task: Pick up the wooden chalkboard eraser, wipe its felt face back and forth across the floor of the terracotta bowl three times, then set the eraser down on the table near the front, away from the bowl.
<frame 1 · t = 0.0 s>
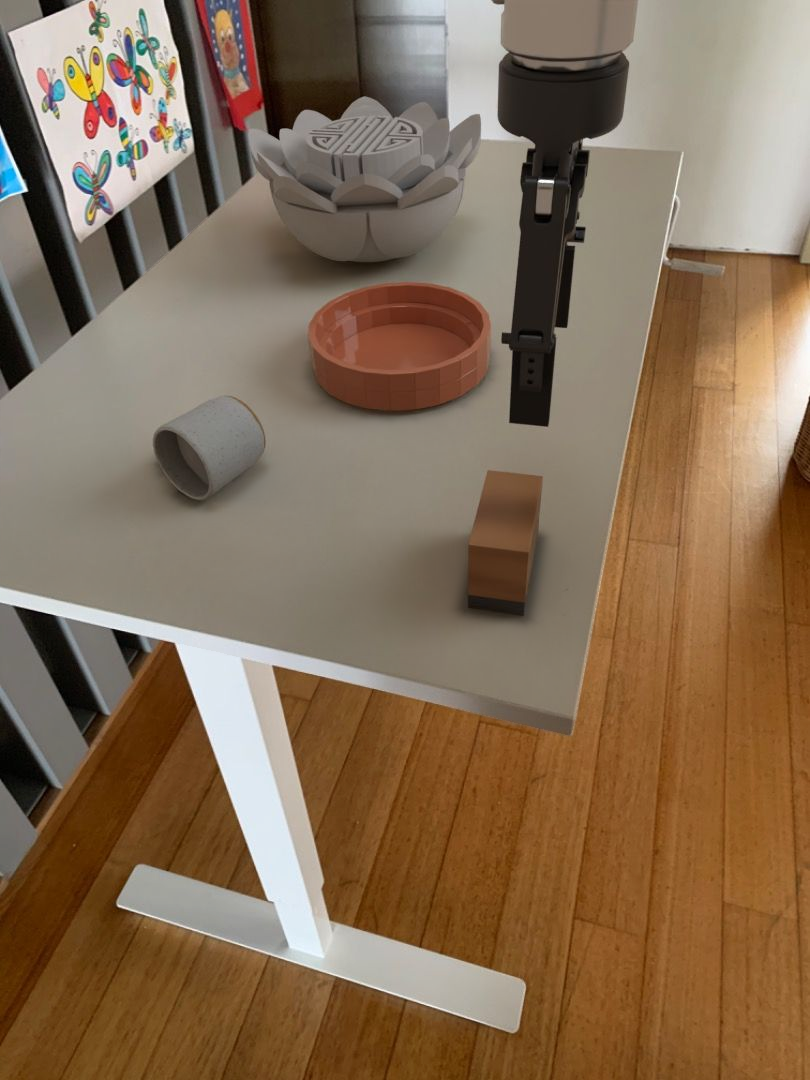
hand: (540, 370, 63), 16 cm above the table, tool pointing down, fingers open, 13 cm apart
ceramic mug: (208, 474, 82), on the table
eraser: (504, 571, 70), on the table
decorative bowl: (366, 248, 117), on the table
terracotta bowl: (401, 364, 94), on the table
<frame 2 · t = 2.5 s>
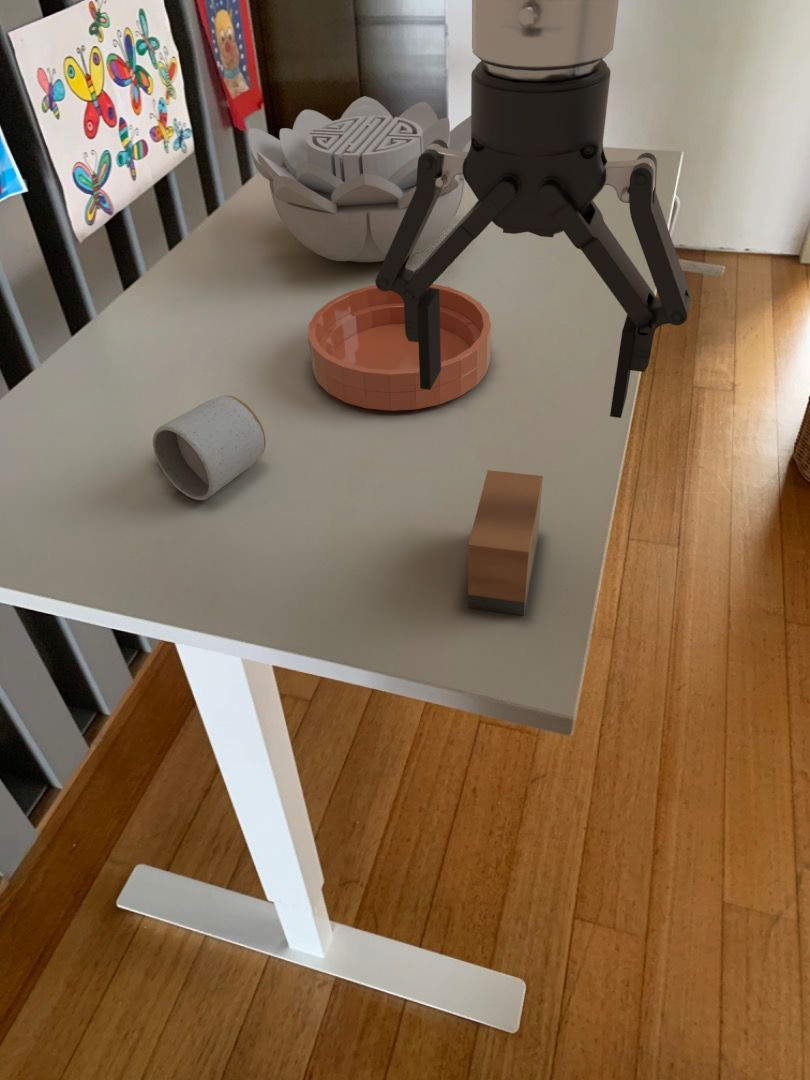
hand: (521, 393, 60), 16 cm above the table, tool pointing down, fingers open, 13 cm apart
nothing on the table moved.
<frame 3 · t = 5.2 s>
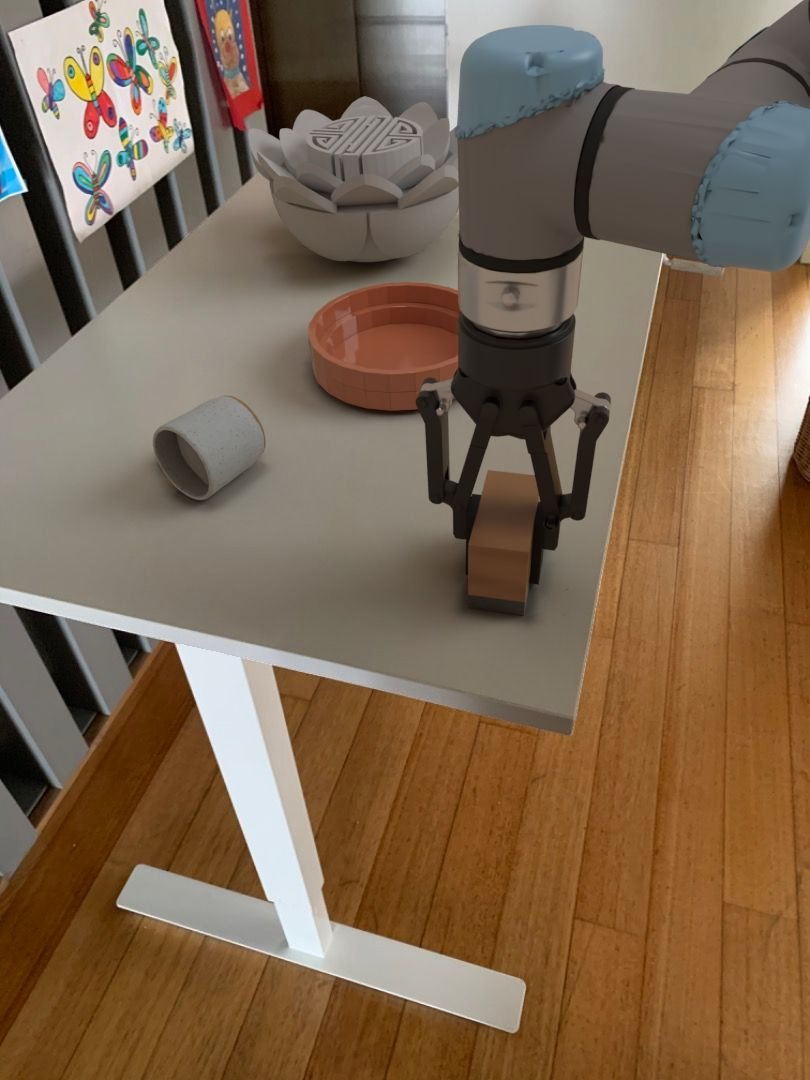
hand: (504, 567, 70), 0 cm above the table, tool pointing down, fingers closed on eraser, 4 cm apart
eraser: (504, 571, 70), on the table, touching gripper
everything else where it was.
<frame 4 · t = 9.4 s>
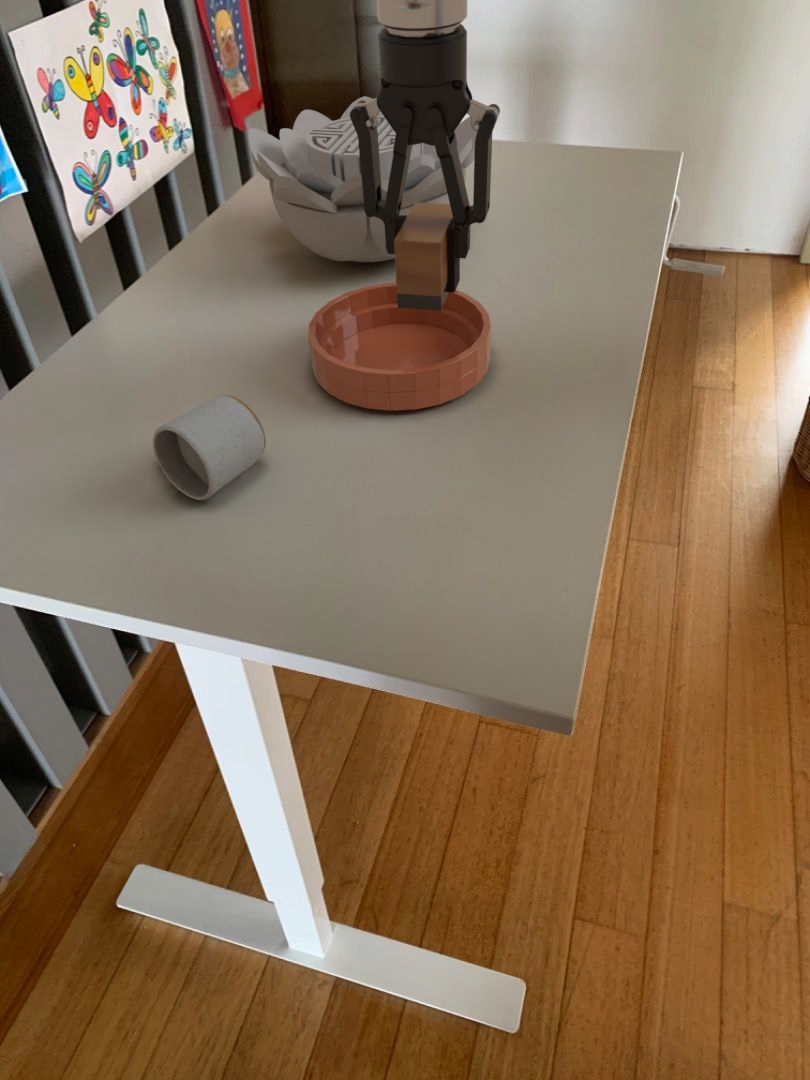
hand: (428, 283, 87), 10 cm above the table, tool pointing down, fingers closed on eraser, 4 cm apart
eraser: (428, 288, 87), point 9 cm above the table, touching gripper
everything else where it was.
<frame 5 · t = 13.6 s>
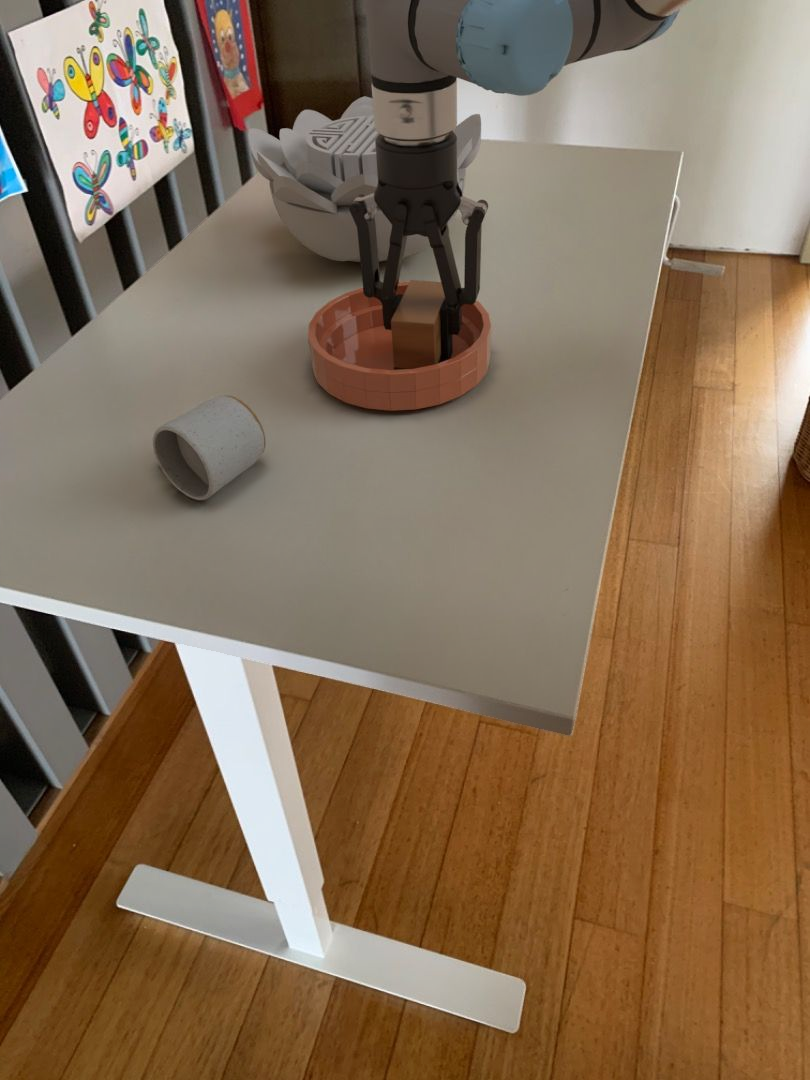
hand: (423, 356, 93), 1 cm above the table, tool pointing down, fingers closed on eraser, 4 cm apart
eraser: (423, 359, 93), point 1 cm above the table, touching gripper
everything else where it was.
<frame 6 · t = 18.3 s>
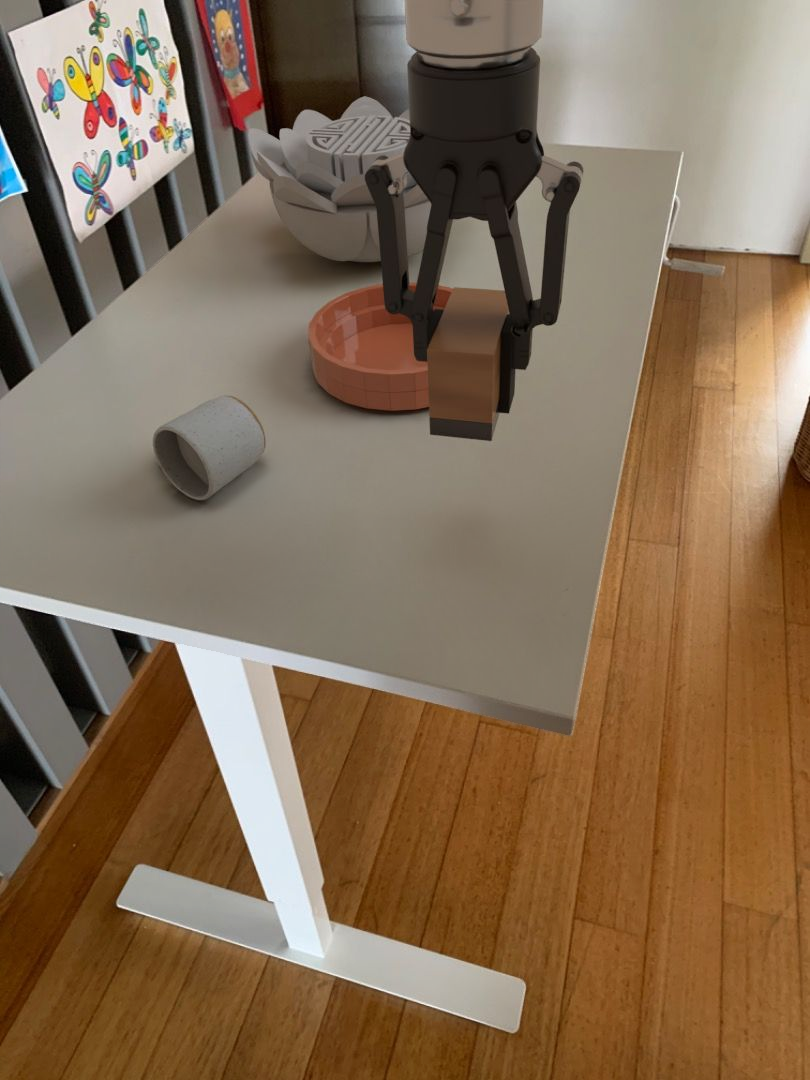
hand: (472, 399, 63), 14 cm above the table, tool pointing down, fingers closed on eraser, 4 cm apart
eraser: (472, 403, 63), point 14 cm above the table, touching gripper
everything else where it was.
when the fingers open (0 cm above the table, at t = 22.2 s): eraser stays where it is, on the table.
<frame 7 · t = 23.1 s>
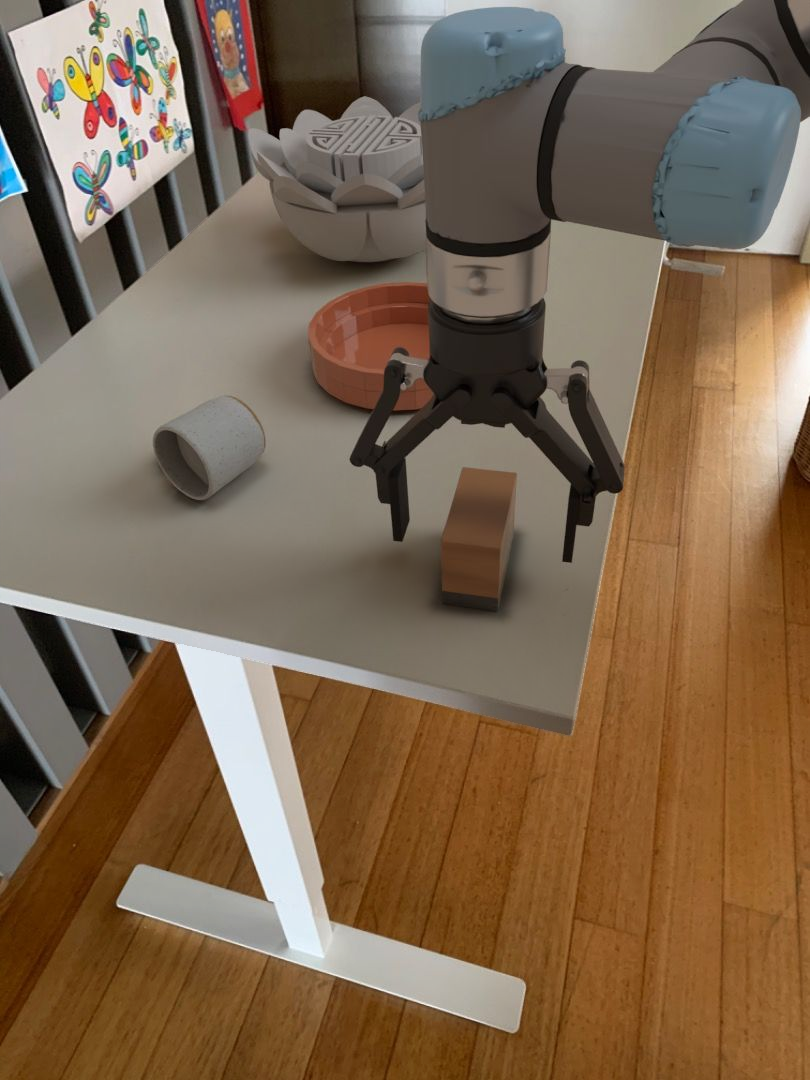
hand: (483, 540, 68), 3 cm above the table, tool pointing down, fingers open, 13 cm apart
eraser: (479, 568, 70), on the table
everything else where it was.
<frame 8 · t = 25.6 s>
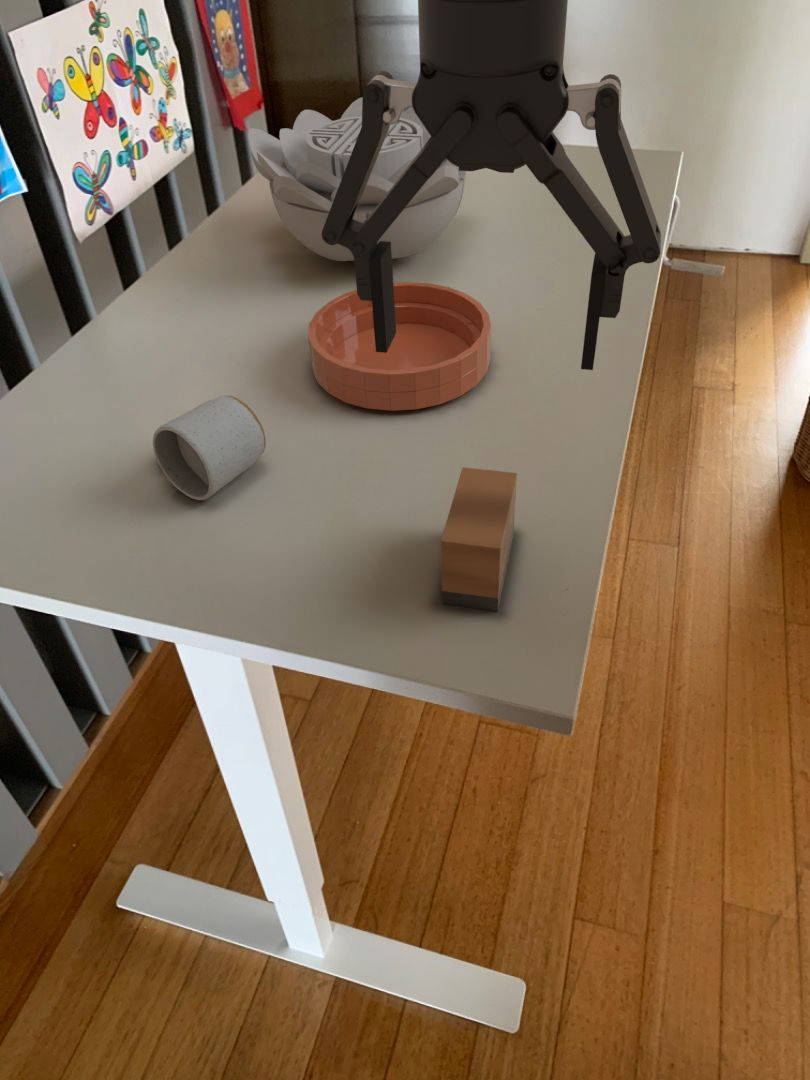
hand: (484, 350, 56), 21 cm above the table, tool pointing down, fingers open, 13 cm apart
nothing on the table moved.
at the end: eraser tilted 0°; the gripper is holding nothing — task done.
